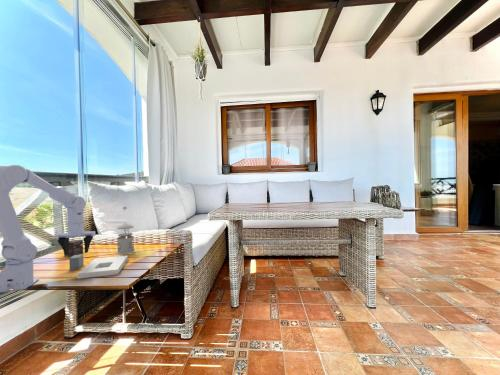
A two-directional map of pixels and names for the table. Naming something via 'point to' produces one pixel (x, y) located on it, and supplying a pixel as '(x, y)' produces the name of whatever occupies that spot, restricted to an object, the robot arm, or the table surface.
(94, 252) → the table surface
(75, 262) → the block
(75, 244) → the box
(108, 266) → the base plate
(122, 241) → the french press
